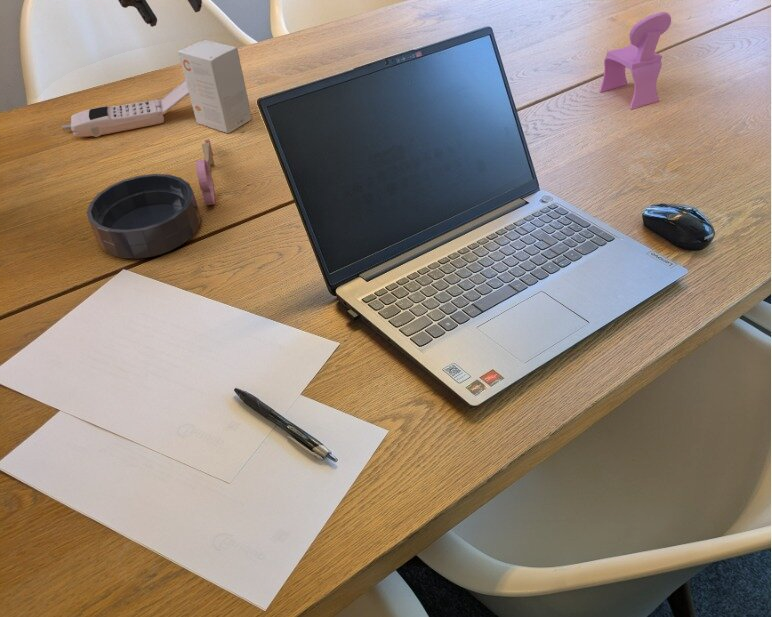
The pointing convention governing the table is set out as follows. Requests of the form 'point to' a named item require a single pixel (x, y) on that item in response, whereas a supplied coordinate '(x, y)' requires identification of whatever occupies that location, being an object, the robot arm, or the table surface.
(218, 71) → the small box
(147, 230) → the bowl
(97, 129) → the mobile phone
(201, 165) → the decorative key
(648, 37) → the toy chair
